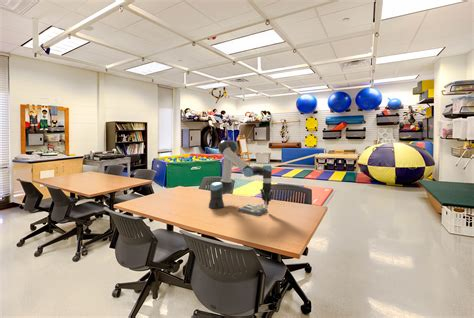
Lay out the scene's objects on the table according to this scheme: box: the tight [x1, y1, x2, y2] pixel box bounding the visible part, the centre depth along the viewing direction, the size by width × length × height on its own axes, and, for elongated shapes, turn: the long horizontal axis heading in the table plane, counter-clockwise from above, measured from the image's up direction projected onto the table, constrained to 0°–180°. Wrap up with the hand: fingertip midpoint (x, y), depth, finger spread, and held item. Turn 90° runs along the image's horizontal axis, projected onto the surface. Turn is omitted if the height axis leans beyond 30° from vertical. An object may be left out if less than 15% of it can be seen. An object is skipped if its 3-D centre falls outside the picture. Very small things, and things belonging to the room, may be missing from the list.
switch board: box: [237, 204, 268, 217], centre depth 226 cm, size 22×16×3 cm
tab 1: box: [251, 204, 258, 211], centre depth 220 cm, size 4×4×5 cm
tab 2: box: [256, 202, 264, 210], centre depth 225 cm, size 4×4×5 cm
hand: (266, 208), depth 221 cm, fingers closed
